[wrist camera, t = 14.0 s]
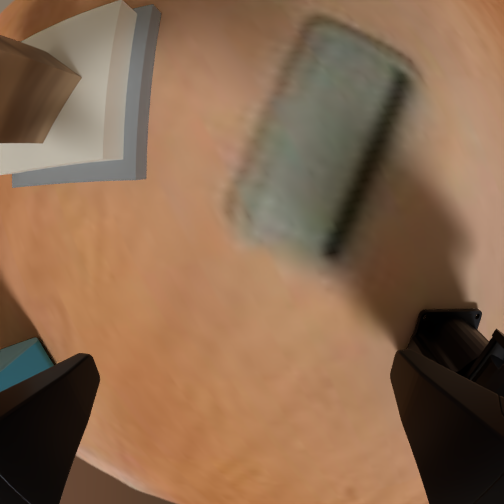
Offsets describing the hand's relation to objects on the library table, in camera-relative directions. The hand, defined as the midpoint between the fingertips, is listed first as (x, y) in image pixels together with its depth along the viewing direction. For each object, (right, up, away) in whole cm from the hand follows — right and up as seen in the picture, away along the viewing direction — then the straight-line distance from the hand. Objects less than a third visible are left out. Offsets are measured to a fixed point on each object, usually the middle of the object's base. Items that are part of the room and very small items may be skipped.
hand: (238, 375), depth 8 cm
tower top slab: (-13, +15, +9) cm, 22 cm away
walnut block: (-14, +14, +6) cm, 20 cm away
